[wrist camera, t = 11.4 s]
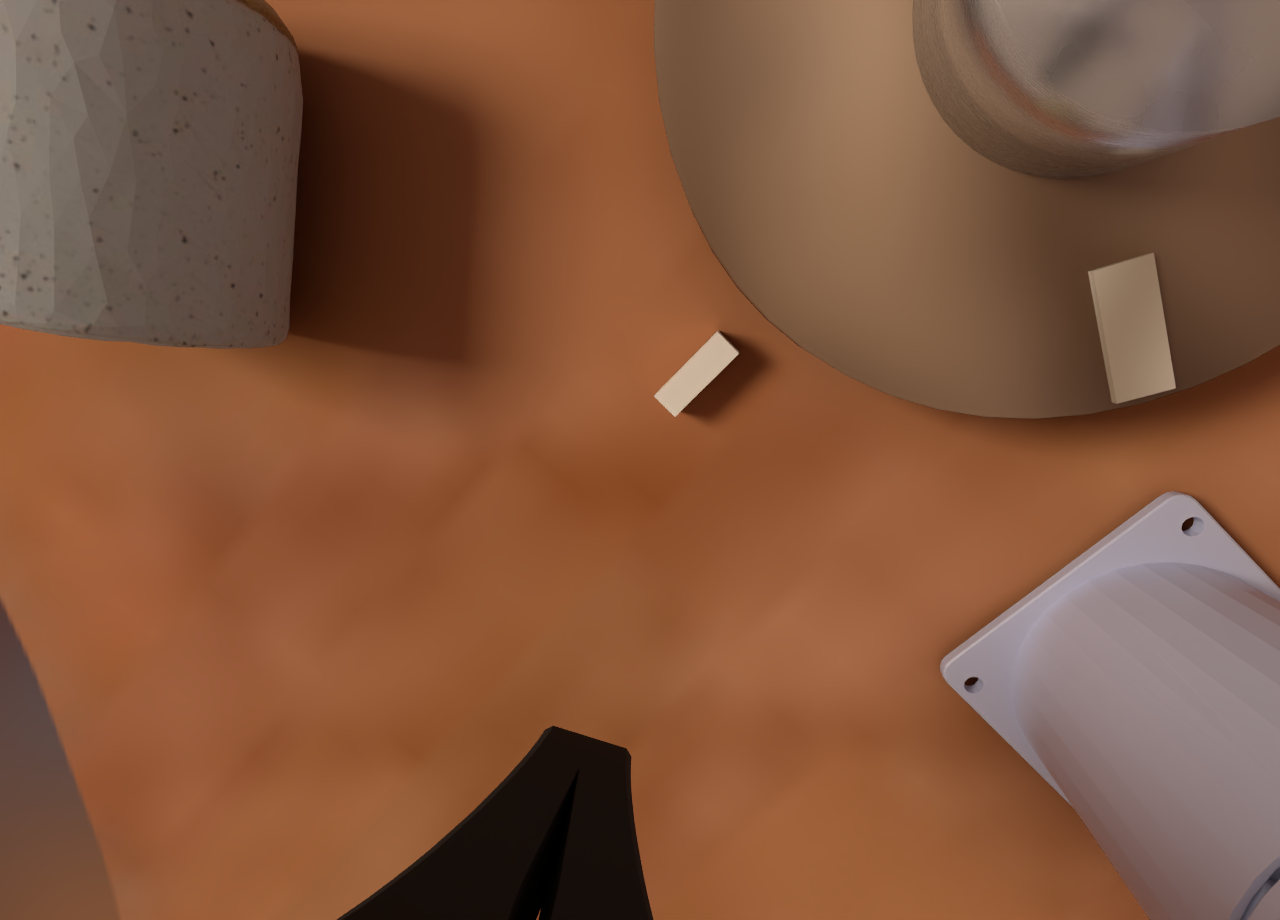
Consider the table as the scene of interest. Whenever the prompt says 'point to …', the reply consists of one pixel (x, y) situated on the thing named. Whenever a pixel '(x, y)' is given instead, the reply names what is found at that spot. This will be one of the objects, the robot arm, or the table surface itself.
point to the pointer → (696, 373)
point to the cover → (1096, 77)
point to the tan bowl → (955, 223)
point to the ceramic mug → (148, 170)
